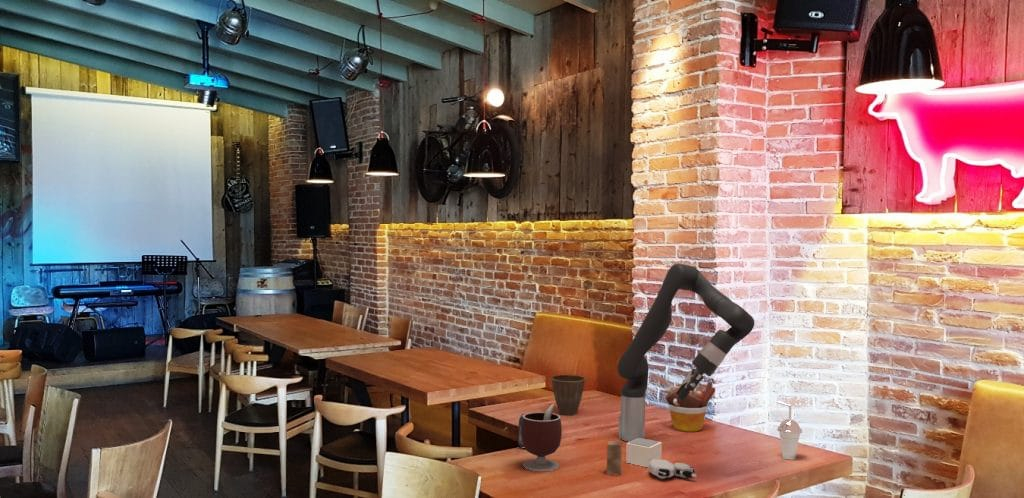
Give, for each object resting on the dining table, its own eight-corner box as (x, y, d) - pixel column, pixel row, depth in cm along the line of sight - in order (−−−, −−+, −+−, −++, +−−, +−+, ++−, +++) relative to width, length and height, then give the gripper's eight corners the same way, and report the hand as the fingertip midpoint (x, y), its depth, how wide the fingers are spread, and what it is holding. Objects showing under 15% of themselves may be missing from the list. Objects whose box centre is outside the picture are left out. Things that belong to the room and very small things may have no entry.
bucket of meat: (664, 432, 299) (665, 383, 299) (663, 422, 315) (664, 376, 315) (715, 435, 295) (716, 385, 295) (711, 425, 312) (712, 378, 311)
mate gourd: (548, 475, 242) (549, 414, 242) (512, 468, 250) (513, 409, 249) (570, 463, 255) (571, 406, 255) (535, 456, 263) (536, 400, 263)
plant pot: (585, 417, 322) (586, 381, 322) (551, 417, 322) (552, 380, 322) (583, 410, 337) (583, 375, 337) (550, 409, 337) (550, 374, 337)
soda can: (539, 445, 277) (539, 414, 277) (533, 450, 270) (534, 418, 270) (521, 444, 279) (522, 412, 279) (516, 448, 273) (516, 416, 273)
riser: (626, 463, 257) (626, 442, 256) (638, 457, 264) (638, 437, 264) (649, 468, 251) (649, 447, 251) (661, 462, 258) (661, 441, 258)
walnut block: (606, 474, 244) (607, 444, 244) (607, 470, 248) (608, 440, 248) (620, 475, 243) (620, 445, 243) (621, 471, 247) (621, 441, 247)
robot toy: (690, 473, 249) (645, 469, 250) (691, 460, 249) (646, 456, 250) (697, 485, 237) (650, 481, 237) (698, 471, 237) (652, 467, 237)
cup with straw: (790, 462, 260) (791, 405, 260) (770, 455, 268) (771, 400, 268) (807, 459, 264) (808, 403, 264) (787, 452, 272) (787, 398, 272)
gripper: (697, 350, 253) (668, 387, 254) (702, 353, 239) (671, 392, 240) (715, 364, 252) (686, 401, 253) (721, 368, 238) (690, 407, 238)
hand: (679, 396), depth 246 cm, fingers open, 8 cm apart
